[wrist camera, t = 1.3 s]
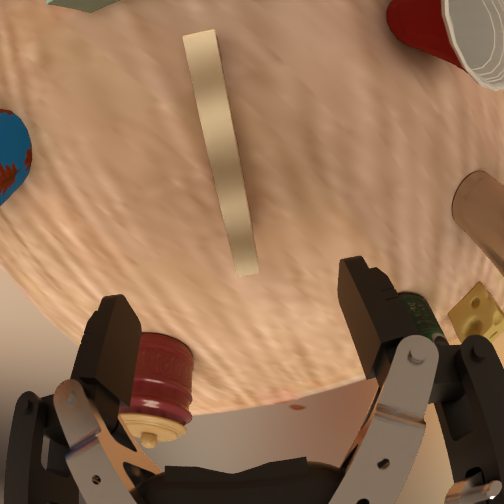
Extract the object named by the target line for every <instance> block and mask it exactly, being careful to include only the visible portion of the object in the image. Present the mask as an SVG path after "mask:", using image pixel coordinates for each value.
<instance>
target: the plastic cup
mask: <svg viewBox="0 0 504 504" xmlns="http://www.w3.org/2000/svg"><path fill="white" fill-rule="evenodd" d="M387 22H388V24H389V27H390V29H391V31H392V32H393V33H394V35H395V36H396V37H397V39H399V40H400V41H402V42H403V43H405V44H407V45H408V46H410V47H414V48H417V49H420V50H422V51H423V52H426V53H428V54H431V55H433V56H436V57H438V58H441V59H443V60H445V61H448V62H450V63H452V64H454V65H456V66H457V67H459V68H461V69H463V70H464V71H465V72H466V73H468V74H469V75H470V76H471V77H472V78H473V79H474V80H475V81H476V82H477V83H478V84H479V85H480V86H483V87H485V88H488V89H490V90H493V91H498V90H502V89H504V0H393V1H392V2H391V3H390V4H389V7H388V9H387Z"/></svg>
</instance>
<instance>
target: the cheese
mask: <svg viewBox="0 0 504 504" xmlns="http://www.w3.org/2000/svg"><path fill="white" fill-rule="evenodd" d="M448 314H449V317H450V319H451V321H452V324H453V327H454V329H455V332H456V334H457V336H458V338H459V340H460V342H461V343H462V342H463V341H464V340H465V339H466V338H467V337H468V336H470V335H475V334H477V335H481V336H484V337H485V338H487V339H488V340H489V341H490V342H491V343H492V342H493V341H494V340H495V339H496V338H497V337H498V336H499V335H500V334H501V333H502V332H503V331H504V313H503V312H502V310H501V309H500V307H499V305H498V304H497V302H496V301H495V299H494V298H493V297H492V295H491V294H490V293H489V292H488V291H487V290H486V289H485V288H484V286H483V285H482V284H481V283H480V282H478V283H477V284H476V285H475V286H474V288H473V289H472V290H471V291H470V292H469V293H468V294H467V295H466V296H465V297H464V298H463V299H462V300H461V301H460V302H459V303H458V304H457V305H456V306H455V307H454V308H453V309H452V310H451V311H450V312H449V313H448Z"/></svg>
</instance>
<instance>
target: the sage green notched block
mask: <svg viewBox="0 0 504 504" xmlns="http://www.w3.org/2000/svg"><path fill="white" fill-rule="evenodd" d="M116 1H119V0H46V3H47V4H49V5H55V6H61V7H66V8H72V9H76V10H81V11H85V12H90V13H91V12H93V11H95V10H97V9H100V8H102V7H104V6H107V5H109V4H111V3H114V2H116Z"/></svg>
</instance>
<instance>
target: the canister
mask: <svg viewBox="0 0 504 504" xmlns="http://www.w3.org/2000/svg"><path fill="white" fill-rule="evenodd" d="M192 372H193V359H192V353H191V351H190V350H189V349H188V348H187V347H186V346H185V345H184V344H183V343H181V342H179V341H178V340H176V339H173V338H171V337H168V336H164V335H160V334H153V333H142V334H141V339H140V345H139V350H138V356H137V362H136V368H135V374H134V381H133V388H132V395H131V402H130V408H127V407H119V412H118V414H119V415H120V416H121V417H122V419H123V421H124V423H125V424H126V426H127V428H128V429H129V431H130V433H131V434H132V436H134V437H138V438H140V442H141V444H142V445H143V446H144V447H146V448H154V447H155V446H156V445H157V441H172V440H175V439H176V438H177V437H180V436H182V435H184V434H185V433H186V431H187V430H186V428H185V427H184V425H186V424H187V423H189V422H190V421H191V420H192V415H191V413H190V412H189V405H190V404H191V402H192V395H191V393H192Z"/></svg>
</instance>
